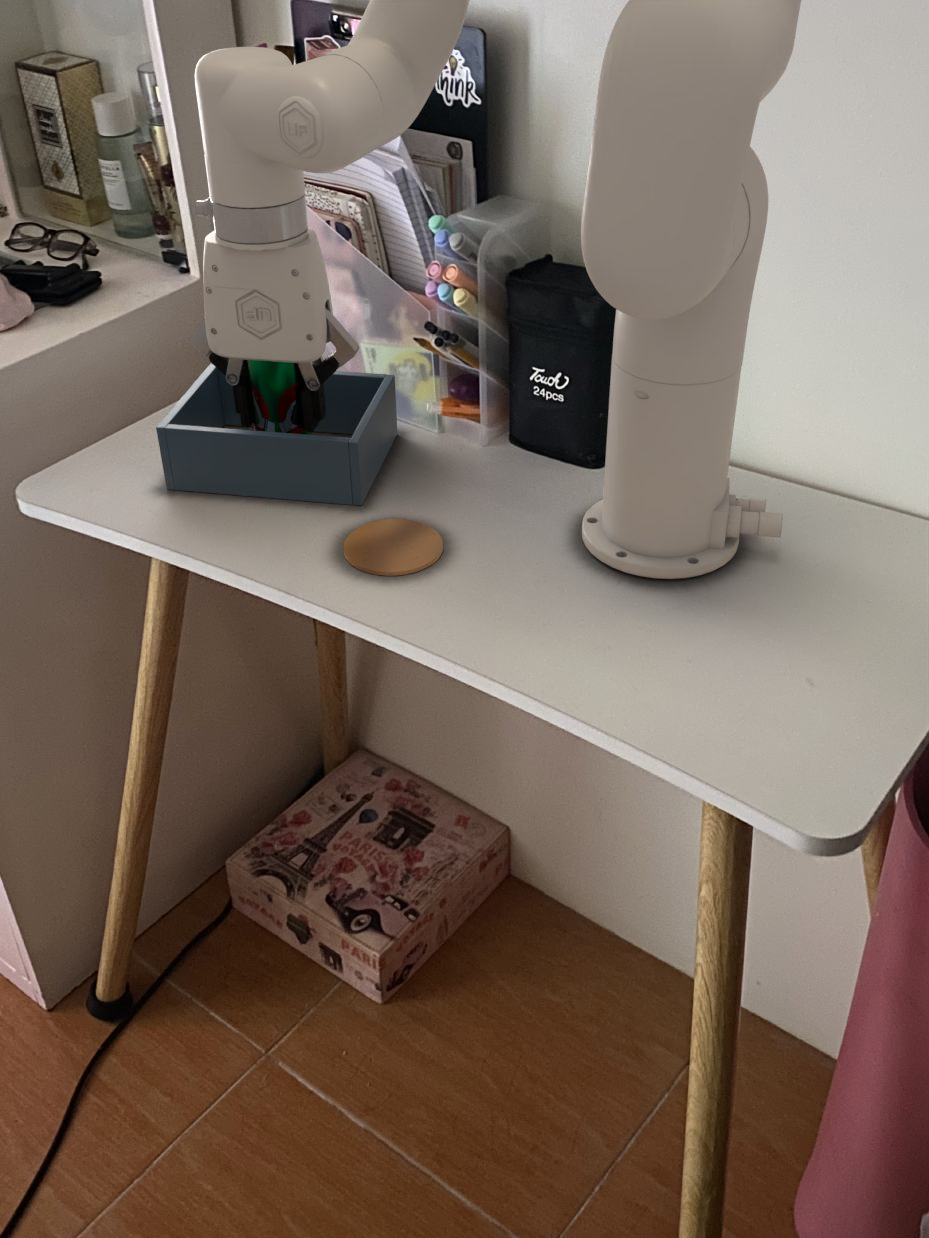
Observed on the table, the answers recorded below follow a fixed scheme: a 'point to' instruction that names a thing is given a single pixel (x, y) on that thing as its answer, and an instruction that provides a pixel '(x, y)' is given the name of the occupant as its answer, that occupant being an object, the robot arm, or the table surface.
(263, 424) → the soda can
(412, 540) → the coaster
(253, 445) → the frame
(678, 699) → the table surface
